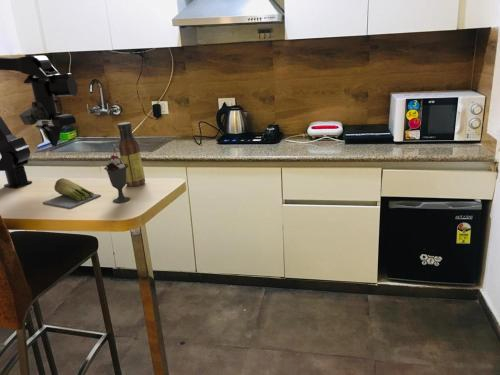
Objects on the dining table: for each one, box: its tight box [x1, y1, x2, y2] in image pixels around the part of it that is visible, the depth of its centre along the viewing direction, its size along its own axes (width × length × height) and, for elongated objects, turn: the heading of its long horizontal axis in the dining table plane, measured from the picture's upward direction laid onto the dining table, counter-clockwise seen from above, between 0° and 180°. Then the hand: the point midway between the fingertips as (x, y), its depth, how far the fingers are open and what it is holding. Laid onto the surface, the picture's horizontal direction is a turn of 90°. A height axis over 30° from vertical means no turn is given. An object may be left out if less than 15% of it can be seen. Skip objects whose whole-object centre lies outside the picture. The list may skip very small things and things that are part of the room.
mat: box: [42, 193, 102, 210], centre depth 126 cm, size 12×11×1 cm
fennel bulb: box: [54, 178, 95, 201], centre depth 127 cm, size 6×5×12 cm
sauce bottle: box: [117, 121, 146, 187], centre depth 134 cm, size 6×6×20 cm
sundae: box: [103, 147, 131, 204], centre depth 121 cm, size 7×7×15 cm
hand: (54, 146), depth 139 cm, fingers closed
